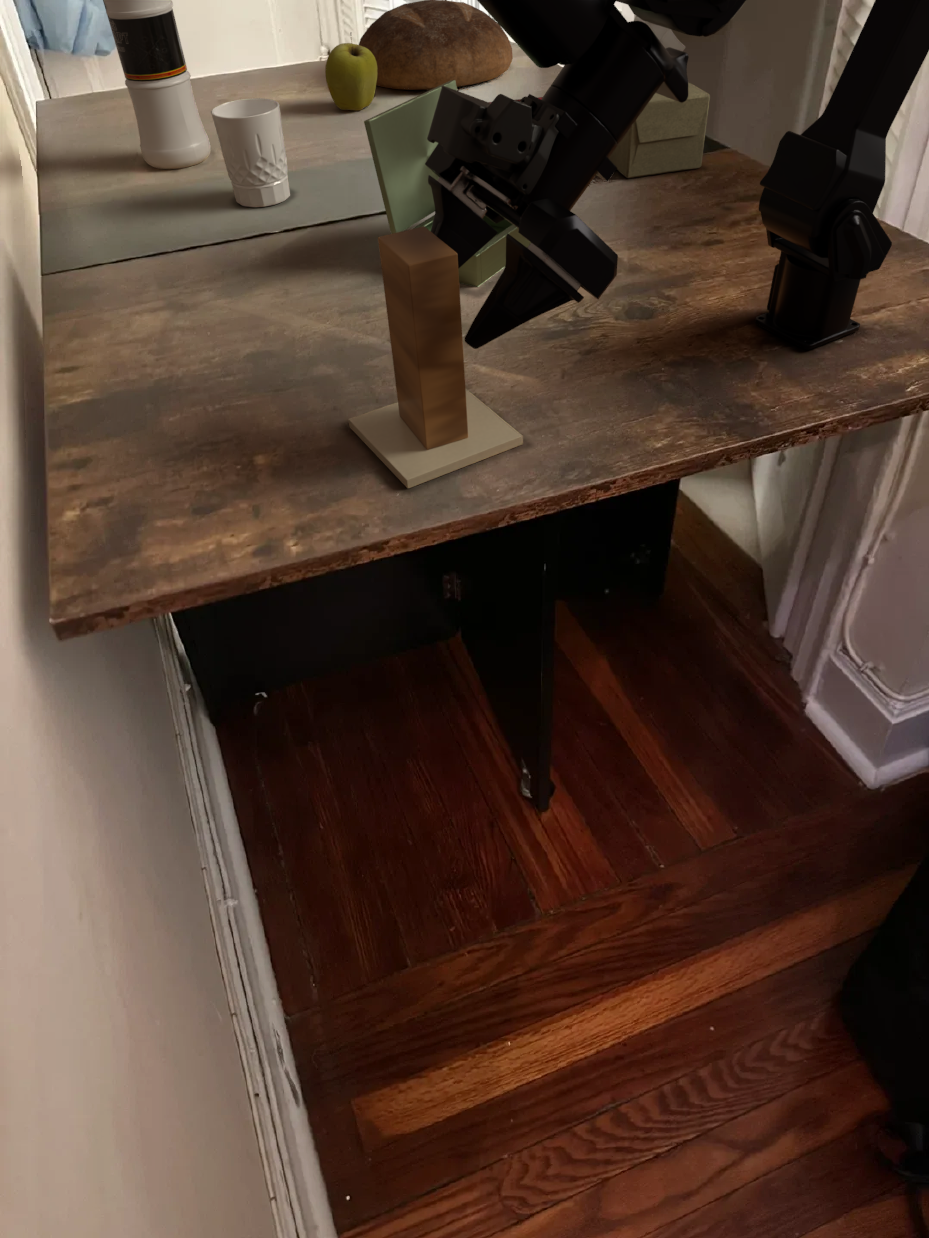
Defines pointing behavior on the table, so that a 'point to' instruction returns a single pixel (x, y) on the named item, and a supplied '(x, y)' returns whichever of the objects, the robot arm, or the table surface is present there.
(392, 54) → the bread
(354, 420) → the tile
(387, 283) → the wooden block
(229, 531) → the table surface
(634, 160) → the tissue box
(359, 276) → the table surface
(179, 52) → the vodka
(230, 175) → the white cup
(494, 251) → the green box
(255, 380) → the table surface
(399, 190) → the flat green panel
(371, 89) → the apple
